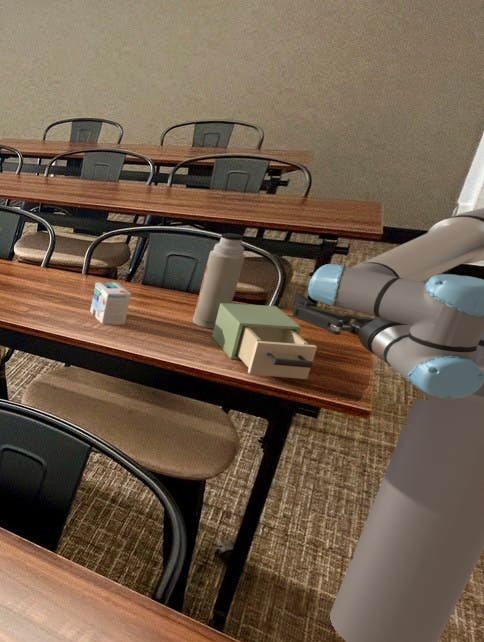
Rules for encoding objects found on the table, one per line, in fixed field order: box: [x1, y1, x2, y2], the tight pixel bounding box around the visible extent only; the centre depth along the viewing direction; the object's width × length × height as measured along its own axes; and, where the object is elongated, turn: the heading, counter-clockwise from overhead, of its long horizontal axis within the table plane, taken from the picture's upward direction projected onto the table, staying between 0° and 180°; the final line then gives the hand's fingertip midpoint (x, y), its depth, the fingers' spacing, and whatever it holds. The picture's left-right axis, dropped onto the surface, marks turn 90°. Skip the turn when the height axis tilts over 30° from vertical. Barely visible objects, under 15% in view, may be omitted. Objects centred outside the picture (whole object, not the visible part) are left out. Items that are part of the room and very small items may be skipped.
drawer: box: [236, 326, 318, 380], centre depth 145 cm, size 18×11×9 cm, turn 159°
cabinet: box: [211, 303, 302, 361], centre depth 156 cm, size 15×13×11 cm
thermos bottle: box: [192, 232, 246, 330], centre depth 169 cm, size 8×8×28 cm
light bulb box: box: [89, 281, 132, 326], centre depth 181 cm, size 11×7×11 cm, turn 169°
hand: (336, 301), depth 124 cm, fingers open, 13 cm apart
